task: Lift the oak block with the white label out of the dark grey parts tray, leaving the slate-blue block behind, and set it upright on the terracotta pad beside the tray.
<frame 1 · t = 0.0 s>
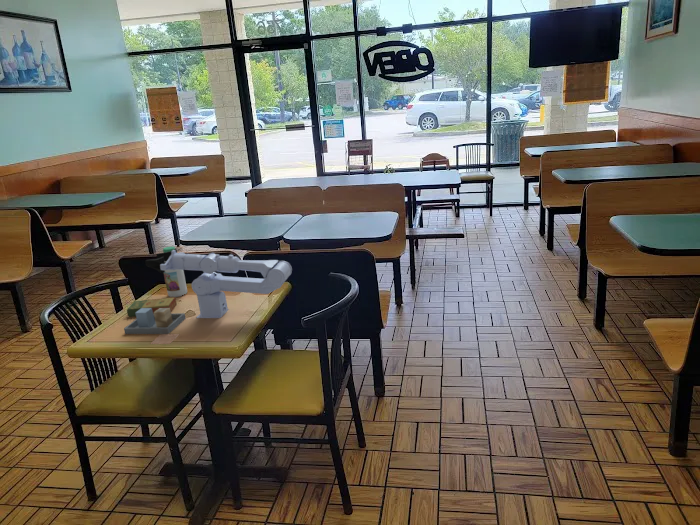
hand: (151, 259, 187), 22 cm above the table, tool horizontal, fingers open, 7 cm apart
carton: (153, 313, 198), on the table
parts tray: (156, 327, 184), on the table
milk bottle: (178, 294, 215), on the table
oak block: (165, 325, 183), resting on parts tray
terracotta pad: (165, 340, 173), on the table
slate block: (147, 325, 184), resting on parts tray
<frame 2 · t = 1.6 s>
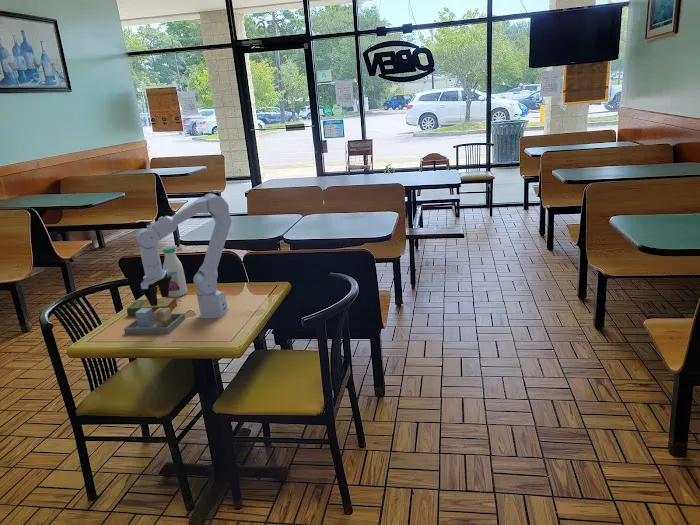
hand: (159, 301, 180), 10 cm above the table, tool pointing down, fingers open, 7 cm apart
nothing on the table moved.
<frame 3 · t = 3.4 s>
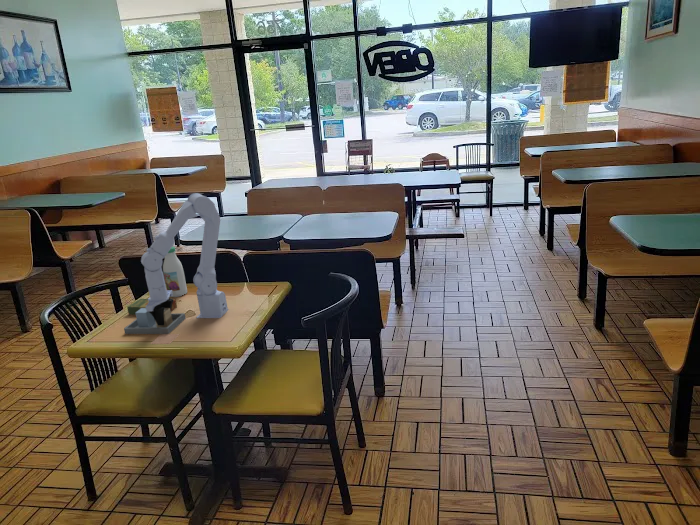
hand: (164, 322, 183), 2 cm above the table, tool pointing down, fingers closed on oak block, 4 cm apart
oak block: (165, 325, 183), resting on parts tray, touching gripper
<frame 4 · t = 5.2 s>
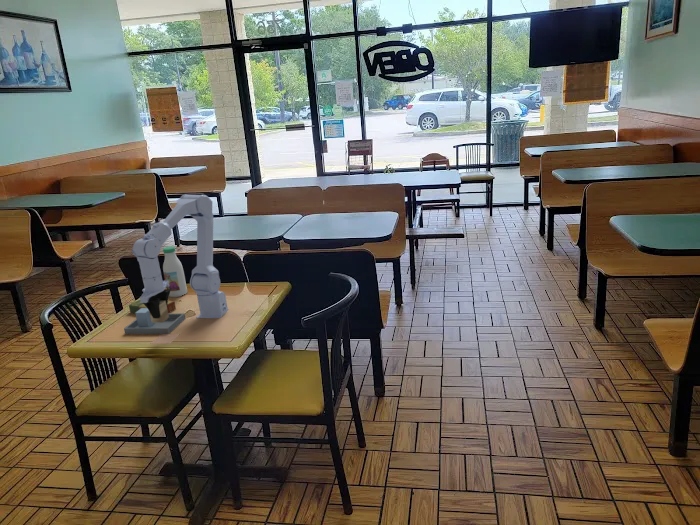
hand: (160, 314, 170), 9 cm above the table, tool pointing down, fingers closed on oak block, 4 cm apart
oak block: (160, 319, 171), point 7 cm above the table, touching gripper
when the fingers open (3 cm above the table, at t = 7.0 s): oak block drops 1 cm, resting on terracotta pad.
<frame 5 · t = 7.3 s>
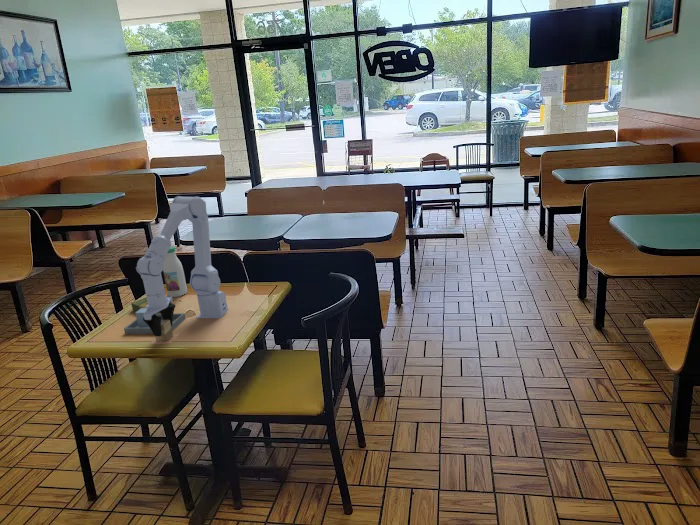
hand: (163, 330, 172), 3 cm above the table, tool pointing down, fingers open, 7 cm apart
oak block: (164, 338, 173), resting on terracotta pad
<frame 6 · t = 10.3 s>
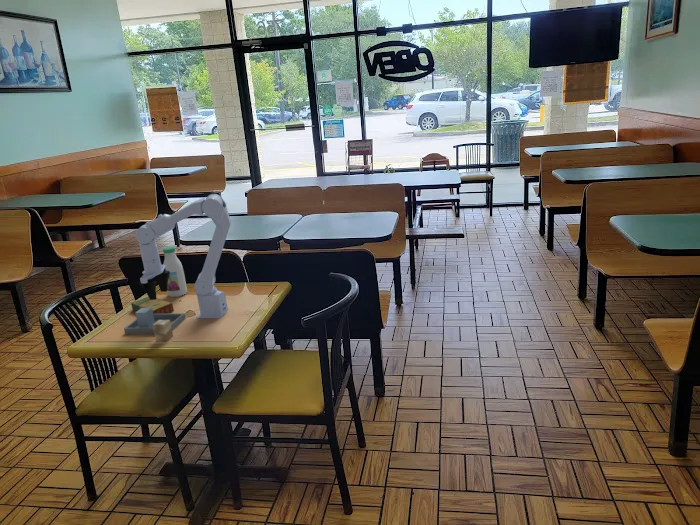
hand: (158, 295, 186), 10 cm above the table, tool pointing down, fingers open, 7 cm apart
at the end: oak block inside the target area on the terracotta pad (0.2 cm from its centre), point 0.5 cm above the terracotta pad's base; oak block tilted 0°; slate block moved 0.0 cm from its start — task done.
